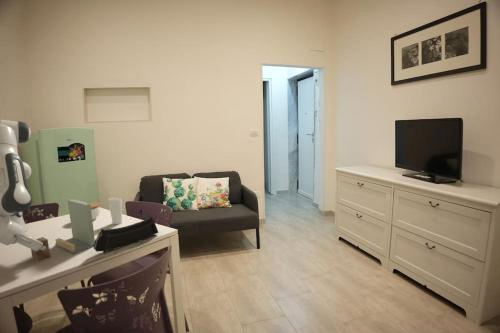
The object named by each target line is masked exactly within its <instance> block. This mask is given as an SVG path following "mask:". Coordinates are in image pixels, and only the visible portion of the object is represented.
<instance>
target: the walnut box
mask: <svg viewBox="0 0 500 333" xmlns="http://www.w3.org/2000/svg"><path fill="white" fill-rule="evenodd" d="M35 239H36V240H38V241H40V242H42V243H43V246H46V249H45V250H41V249H39V250H38V251H35V250H33V249H30V251H31V258H32V260H35V261H37V262H38V261H40V260H44V259H46V258H49V257H51V253H50V252H51V251H50V246H49V239H47V237H46V238H45V237H43V236H42V237H40V238H35Z"/></svg>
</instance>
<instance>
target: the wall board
mask: <svg viewBox="0 0 500 333" xmlns="http://www.w3.org/2000/svg"><path fill="white" fill-rule="evenodd" d="M89 203H90V202H89ZM89 203H87V202H85V201H82V200H78V199H72V198H71V199H67V204H68V212H69V213H68V214H69V220H70V229H71V234H72V236H71V237H70V238H68V239H65V240H64V239H62V238H60V237H57V238H55V244H54V245H55V246H56V247H57V248H60V249H62V250H65V251H67V252H69V253H71V254H73V255H75V254H77V253H79V252H82V251H85V250H87V249H89V248H90V249H91V248H94V244H95V240H96V238H95V231H94V224H93V223H94V222H93V221H94V220H92V213H91V205H90V204H89Z"/></svg>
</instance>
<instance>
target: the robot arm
mask: <svg viewBox="0 0 500 333" xmlns="http://www.w3.org/2000/svg"><path fill="white" fill-rule="evenodd" d="M31 135H32V131H31V128H30V127H29V124H27V123H26V122H23V121H16V120H15V121H13V120H8V119H0V244H2V245H4V246H10V245H15V244H17V243H18V244H19V245H21V246H23V247H25V248H28V249H30V250H31V249H33V250H35V251H38V250H39V249H41V250H45V249H46V246H43V243H42V242H40V241H38V240H36V239H37V238H34V237H31V236H30V235H27V234H26V233H25V232H26V231H28V227H27V225H26V223H25V219H24V217H23V216H24V215H23V212H25V211H27V210H29V209H30V207H31V206H32V204H33V196H32V193H31V191H30V189H29V187H28V182H27V180H28V179H29V178H30V177H31V176H32V168H31V166H30V164H28V163H27V162H25V161H23V160H22V157H21V156H20V155H19V153H18V144H25V143H27V142H29V141H30V138H31ZM4 184H7V187H6V188H5V187H3V185H4Z"/></svg>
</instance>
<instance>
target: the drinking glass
mask: <svg viewBox="0 0 500 333" xmlns="http://www.w3.org/2000/svg"><path fill="white" fill-rule="evenodd" d="M108 206H109V207H108V208H109V211H110V218H111V223H112V224H113V225H119V224H120V225H121V224H122V223H123V204H122V198H121V197H119V196H118V197H117V196H116V197H111V198H108Z"/></svg>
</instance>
